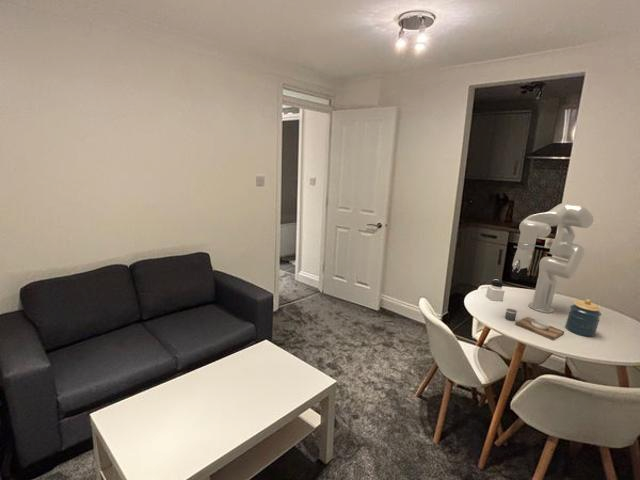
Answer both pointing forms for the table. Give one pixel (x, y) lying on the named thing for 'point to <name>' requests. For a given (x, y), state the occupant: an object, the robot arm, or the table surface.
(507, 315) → the camera lens
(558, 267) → the robot arm
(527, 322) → the board
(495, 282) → the medicine bottle
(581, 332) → the canister
